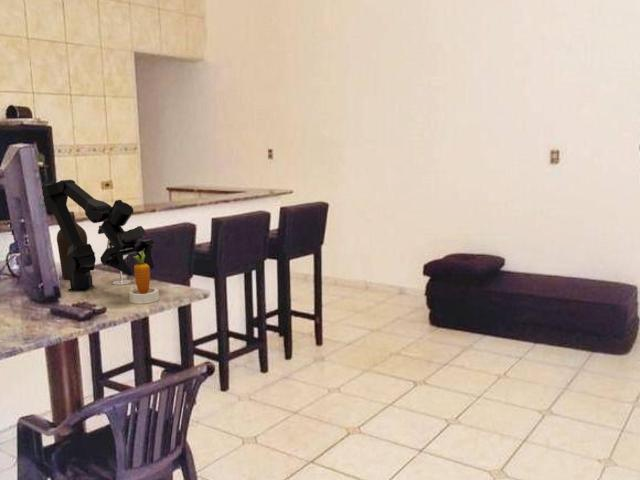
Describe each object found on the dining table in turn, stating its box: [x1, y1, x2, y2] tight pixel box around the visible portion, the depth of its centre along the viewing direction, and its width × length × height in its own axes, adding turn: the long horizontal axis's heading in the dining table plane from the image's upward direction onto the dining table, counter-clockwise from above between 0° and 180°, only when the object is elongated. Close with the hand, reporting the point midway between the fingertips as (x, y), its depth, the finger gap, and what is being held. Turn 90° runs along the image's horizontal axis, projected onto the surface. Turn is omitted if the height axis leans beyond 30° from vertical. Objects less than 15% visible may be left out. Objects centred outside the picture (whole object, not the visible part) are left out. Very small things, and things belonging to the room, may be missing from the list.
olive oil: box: [56, 211, 88, 281], centre depth 232 cm, size 11×11×25 cm
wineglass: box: [106, 239, 132, 286], centre depth 223 cm, size 8×8×18 cm
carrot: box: [132, 252, 151, 294], centre depth 198 cm, size 5×5×15 cm
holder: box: [128, 287, 160, 305], centre depth 199 cm, size 9×9×3 cm
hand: (142, 271), depth 198 cm, fingers open, 9 cm apart
